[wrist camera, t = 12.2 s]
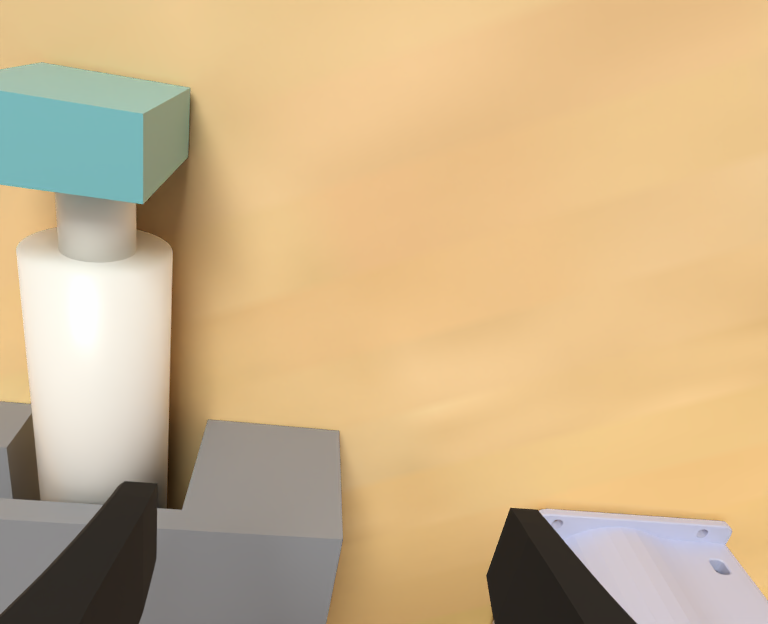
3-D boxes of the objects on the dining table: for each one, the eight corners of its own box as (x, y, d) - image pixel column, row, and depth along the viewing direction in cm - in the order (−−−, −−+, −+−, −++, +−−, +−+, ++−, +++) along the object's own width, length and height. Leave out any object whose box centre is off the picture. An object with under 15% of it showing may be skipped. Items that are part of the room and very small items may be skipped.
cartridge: (190, 87, 17) (143, 113, 13) (176, 494, 24) (142, 605, 19) (41, 62, 17) (-63, 80, 12) (70, 487, 23) (9, 600, 19)
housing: (339, 430, 23) (342, 539, 18) (303, 632, 28) (299, 758, 24) (-7, 400, 21) (-104, 513, 17) (22, 623, 26) (-46, 758, 22)
